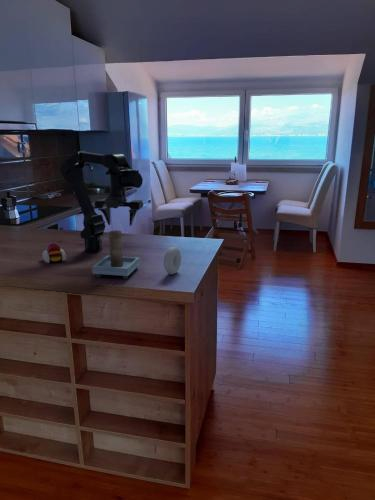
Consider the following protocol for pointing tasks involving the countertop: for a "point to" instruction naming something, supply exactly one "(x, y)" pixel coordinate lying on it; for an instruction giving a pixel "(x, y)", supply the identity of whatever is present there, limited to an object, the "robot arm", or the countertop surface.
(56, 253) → the red yellow rounded shape
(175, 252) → the donut
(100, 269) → the tray
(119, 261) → the walnut spindle
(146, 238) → the countertop surface
